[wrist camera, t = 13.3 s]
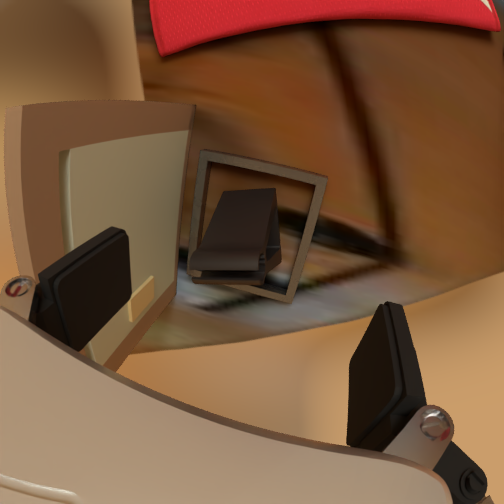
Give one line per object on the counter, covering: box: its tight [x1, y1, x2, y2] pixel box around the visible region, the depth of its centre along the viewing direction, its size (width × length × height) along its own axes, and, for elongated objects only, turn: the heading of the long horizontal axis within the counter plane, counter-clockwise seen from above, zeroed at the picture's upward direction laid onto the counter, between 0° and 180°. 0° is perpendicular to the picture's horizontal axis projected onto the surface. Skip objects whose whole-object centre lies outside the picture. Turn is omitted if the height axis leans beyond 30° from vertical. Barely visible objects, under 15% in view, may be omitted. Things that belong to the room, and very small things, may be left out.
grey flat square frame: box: [187, 149, 328, 304], centre depth 34 cm, size 14×16×2 cm
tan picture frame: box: [4, 100, 196, 372], centre depth 26 cm, size 4×26×23 cm, turn 169°
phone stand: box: [189, 188, 281, 285], centre depth 29 cm, size 9×6×12 cm, turn 6°
